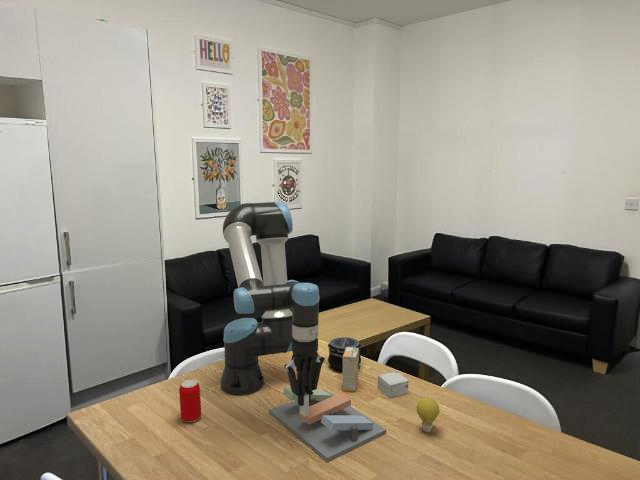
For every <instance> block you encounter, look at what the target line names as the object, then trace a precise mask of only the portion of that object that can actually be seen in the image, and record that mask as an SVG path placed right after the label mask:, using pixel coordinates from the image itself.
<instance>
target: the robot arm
mask: <svg viewBox="0 0 640 480" xmlns="http://www.w3.org/2000/svg"><path fill="white" fill-rule="evenodd" d="M222 223H223V224H222V235H223V239H224V240H225V242H226V243H228V249H229V252H230V256H231V261H232V265H233V270H234V273H235V278H236V283H237V288H235V289H234V291H233V304H234V305H233V306H234V310H235V312H236V313H237V314H246V315H247V314H254V313H255V314H256V313H262V312H264V313H263V315H262V316H261V321H260V322H258V321H257V319H256V318H254V317H242V318H238V319H234V320H232V321H231V322H229V323H228V324H226V326H225V327H224V329H223V343H224V348H223V349H224V368H223V372H222V375H221V378H220V389H221V390H222V391H223V392H224V393H226V394H229V395H235V396H244V395H250V394H253V393H256V392H258V391H260V390H261V389H263V387H264V385H265V382H264V381H265V378H264V374H263V371H262V370H261V366H260V364H259V357H261V356H268V355H274V354H275V355H276V354H286V353H290V352H292V355H291V359H290V360H291V361H290V362H289V363H288V364H287V363H285V364H284V365H283V367H284V369H285V371H286V372H287V376H288V382H289V385H290V388H291V390H292V393H294V394H295V395H297V396H298V404H299V405H300V414H301V415H303V416H304V417H306V416H309V403H310V402H311V395H312V394H313V392H312V391H313V390H316V389H318V384H319V381H320V380H319V379H320V375H321V370H322V366H323V364H324V362H325V357H324V356H322V355H320V354H319V352H318V351H319V338H318V337H319V318H320V317H319V314H320V313H319V311H320V308H319V307H320V290H319V287H318V285H317V284H314V283H312V282H300V281H298V280H295V279H289V280H288V275H287V274H288V273H287V258H286V247H285V244H286V242H288V241H287V240H289V235H290V234H292V232H293V230H294V229H293V224H294V223H293V218H292V213H291V211H290V208H289V207H288V205H287V204H286V203H285V202H281V201H279V202H277V201H271V202H270V201H269V202H268V201H267V202H251V203H249V202H246V203H245V202H244V203H241V204H238V205H237V206H234V207H233V208H232V209H231V210H230V211H229V212H228V213H227V214H226V217H225V218H224V221H223V222H222ZM252 236H255V241H256V242H257V243H258V244H259V245H260V253H261V266H262V268H261V269H262V275H261V270H260V267H259V263H258V260H257V256H256V251H255V249H254V245H253V242H252V239H251V238H252Z"/></svg>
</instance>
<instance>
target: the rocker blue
mask: <svg viewBox="0 0 640 480" xmlns="http://www.w3.org/2000/svg"><path fill="white" fill-rule="evenodd" d="M321 423H322V424H324V425H325V426H326V427H328V428H329V429H330V430H350V431H352V427H355V426H357V427H358V430H372V427H373V424H374V423H373V422H371V421H370V420H368V419H367V418H365V417H364V416H359V415H323V416H322V420H321Z"/></svg>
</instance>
